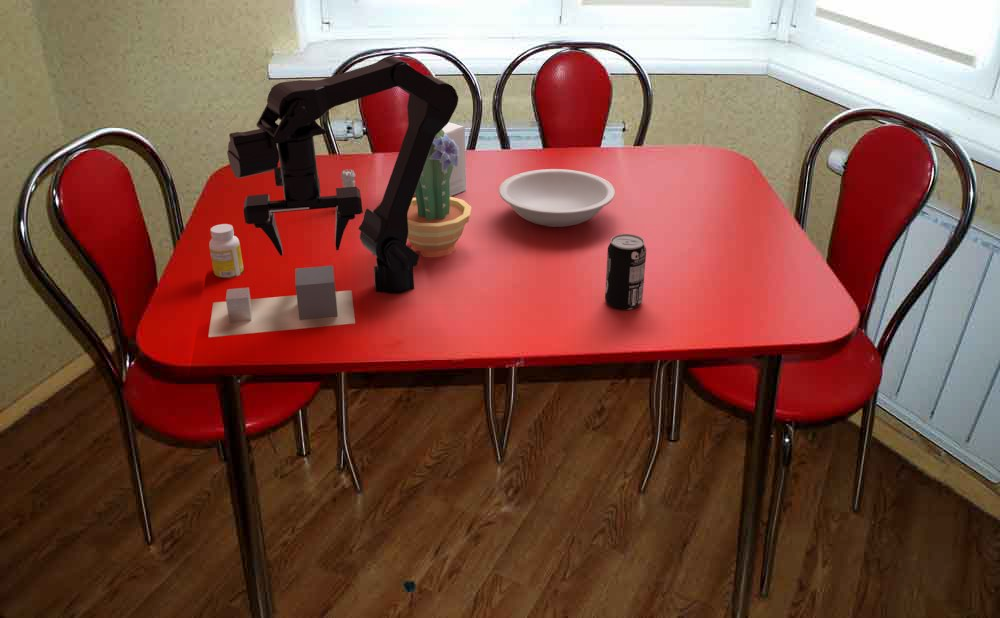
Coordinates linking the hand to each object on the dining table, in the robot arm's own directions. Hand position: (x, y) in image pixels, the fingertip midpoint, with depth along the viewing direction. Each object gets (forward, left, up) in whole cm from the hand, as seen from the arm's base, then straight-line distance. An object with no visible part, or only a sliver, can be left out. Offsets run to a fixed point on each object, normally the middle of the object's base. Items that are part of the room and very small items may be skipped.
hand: (309, 251), depth 161 cm
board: (+6, 0, -12) cm, 13 cm away
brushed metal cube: (+13, 0, -12) cm, 17 cm away
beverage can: (-53, +6, -12) cm, 55 cm away
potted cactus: (-23, -23, -12) cm, 35 cm away
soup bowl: (-50, -32, -12) cm, 61 cm away
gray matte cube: (0, 0, -11) cm, 11 cm away
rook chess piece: (-8, -47, -12) cm, 49 cm away
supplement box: (-28, -52, -12) cm, 60 cm away
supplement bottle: (+16, -18, -12) cm, 27 cm away
